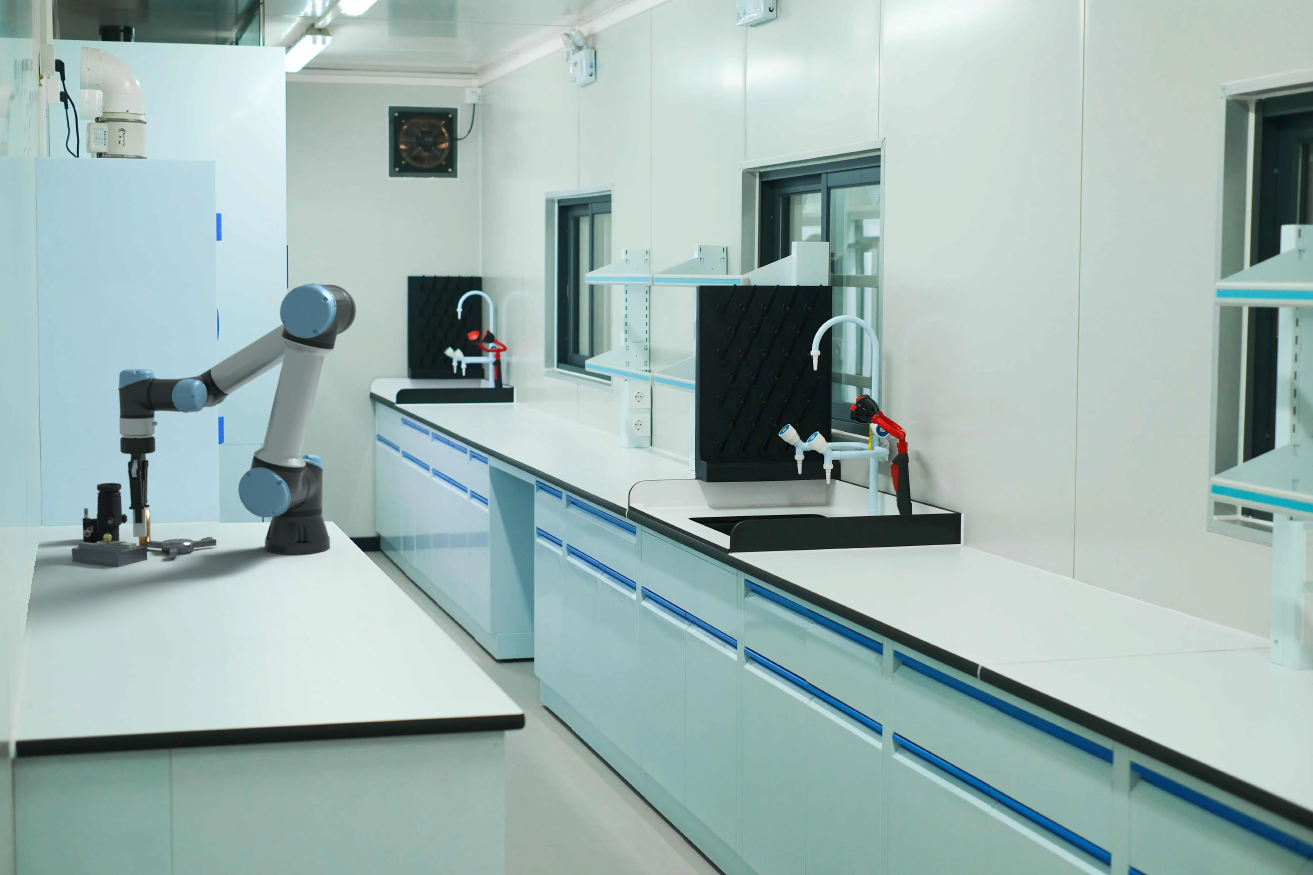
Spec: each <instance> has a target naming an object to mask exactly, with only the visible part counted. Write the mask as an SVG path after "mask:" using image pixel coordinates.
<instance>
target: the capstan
mask: <svg viewBox="0 0 1313 875" xmlns="http://www.w3.org/2000/svg"><path fill="white" fill-rule="evenodd" d="M146 535H147V536H146V537H138V546H146V547H147V549H150V548H151V549H157V550H158V549H160V550H161V553H163V554H168V555H169V558H171V559H175V558H177V557H178V555H179V554H180V555H181V554H188V553H192V552H194V549H197V548H206V547H213V546H217V539H215V538H212V539H207V540H201V539H200V540H192V539H190V538H189V539H188V538H172V539H165V540H162V541H159V540H151V539H152V538H151V509H150V508H146Z"/></svg>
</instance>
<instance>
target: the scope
mask: <svg viewBox="0 0 1313 875" xmlns="http://www.w3.org/2000/svg"><path fill="white" fill-rule="evenodd" d="M96 490H97V491H98V492H97V507H96V509H97V510H96V512H97V513H96V517H95V518H90V517H89V507H87V508H86V507H85V508H83V516H84V517H82V540H83V541H82V542H87V543H97V541H101V540H104V539H103V536H104V535H105V534H110V535H111V536H112V539H111V540H112V541H115V540H117V541H120V525H122V524H126V523H127V522H128V516H127V515H126V513H123V511H122V510H123V509H122V508H123V507H122V506H123V505H122V495H121V494H122V493H121V490H122V484H121V483H118V482H117V483H116V482H104V483H98V484H97V485H96Z"/></svg>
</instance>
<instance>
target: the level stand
mask: <svg viewBox="0 0 1313 875" xmlns="http://www.w3.org/2000/svg"><path fill="white" fill-rule="evenodd" d="M103 539H104V540H101V541H97V543H87V542H84V541H80V542H78V544H77V545H78V546H76V547H73V548H71V559H72V560H71V561H72V562H74V563H81V564H90V565H96V566H97V565H98V566H107V567H114V568H115V567H116V568H119V567H125V566H128V565H131V564H132V565H133V564H136V563H139V562H142V561H147V560H148V548H147V547H146V546H139V545H137V543H136V542H129V541H120V540H119V541H117V540H115V541H112V540H111V539H112V536H111V535H110V534H105V535H104V536H103Z"/></svg>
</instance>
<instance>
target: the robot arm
mask: <svg viewBox="0 0 1313 875" xmlns="http://www.w3.org/2000/svg"><path fill="white" fill-rule="evenodd" d="M284 296H285V297H283V299H282V301H281V304H280V307H279V317H280V321H281V322H282V324H280V325H279V326H278V327H276V328H274V329H273V330H271V331H269V332H268V333H266V334H264V335H263V336H261V337H259V338H258V339H256V340H255V341H253V342H251V343H249V344H248V345H246V346H245V347H243V348H242V349H240V350H238V351H237V352H235V353H233V354H231V355H230V356H229V357H227V358H226V359H223V360H222V361H220V362H218V363H216V364H215V365H213V366H212V367H211V368H209V369H208V370H206V371H204V372H202V373H201V374H199V375H197V376H190V377H181V378H156V377H155V372H154V371H153V370H152V369H146V368H145V369H144V368H141V369H140V368H139V369H138V368H132V369H131V368H129V369H127V368H126V369H122V370H121V371H120V372H119V374H118V376H119V377H118V378H119V379H118V399H119V435H121V437H120V440H119V441H120V442H119V444H120V450H119V451H120V452H121V453H122V454H125V455H130V460H129V461H128V462H127V473H128V480H129V481H128V483H129V496H130V506H128V509H129V510H132V535H133V538H139V537H146V536H147V535H146V509H150V504H148V477H149V476H148V472H149V464H150V463H149V460H148V459H147V458H146V457H147V456H146V454H147V455H148V454H152V453H154V452H156V438H155V436H154V435H155V427H156V426H158V422H157V421H155V415H156V414H155V412H159V411H160V412H161V411H162V412H174V413H175V412H176V413H177V412H178V413H179V412H180V413H184V414H185V413H186V414H187V413H198V412H201V411H203V408H212V407H215V406H216V405H219V404H221V403H223V402H224V401H225V400H226V399H227V397H228V396H229V395H231V394H232V393H233V392H235V391H237V390H238V389H240V388H242V387H244V386H245V385H247V384H249V383H250V382H252V381H254V380H255V379H257V378H258V377H260V376H262V375H264V374H265V373H267V372H269V371H271V370H272V369H274V368H275V367H277V366H279V365H280V364H281V368H280V372H279V377H278V382H277V386H276V390H275V394H274V397H273V403H272V405H271V406H272V407H271V411H270V415H269V418H268V419H269V420H268V423H267V427H266V432H265V434H264V435H265V436H264V440H263V445H262V447H260V448H259V449H257V450H255V451H254V453H253V457H252V460H251V464H250V468H249V470H247V471H246V472H245V473H244V474H243V476H242V477H241V478H240V480H239V483H238V488H237V489H238V490H237V491H238V497H239V499H240V502H241V503H242V504H243V506H244V508H245V509H246V510H247V511H248V512H249V513H251V514H252V515H254V516H256V517H260V518H271V521H270V523H269V527H268V530H267V533H266V536H265V539H264V549H265V551H266V552H270V553H273V554H282V555H283V554H284V555H304V554H314V553H319V552H325V551H327V550H329V549H330V548H331V538H330V535H329V532H328V529H327V527H326V523H325V520H324V517H323V471H324V468H323V460H322V458H321V456H320V455H317V454H302V451H303V448H304V442H305V438H306V436H307V435H306V434H307V431H308V427H309V422H310V419H311V414H312V409H313V407H314V406H313V405H314V401H315V397H316V393H317V389H318V386H319V382H320V381H319V380H320V377H321V374H322V373H321V372H322V368H323V364H324V360H325V356H326V355H327V354H329V353H330V352H332V351H333V350H334V348H335V345H336V340H337V336H338V335H340V334H343V333H344V332H346V331H347V330H349V328H351V326H352V324H353V323H354V321H355V318H356V316H357V315H356V314H357V311H356V310H357V309H356V302H355V301H354V298H353V297H352V295H351V293H349V292H348V291H347V290H346V289H345V288H343V287H341V286H339V285H334V284H320V283H319V284H316V283H306V284H302V285H299V286H296V287H294V288H293V289H291V290H290V291H289V292H288V293H286V295H284Z"/></svg>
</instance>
